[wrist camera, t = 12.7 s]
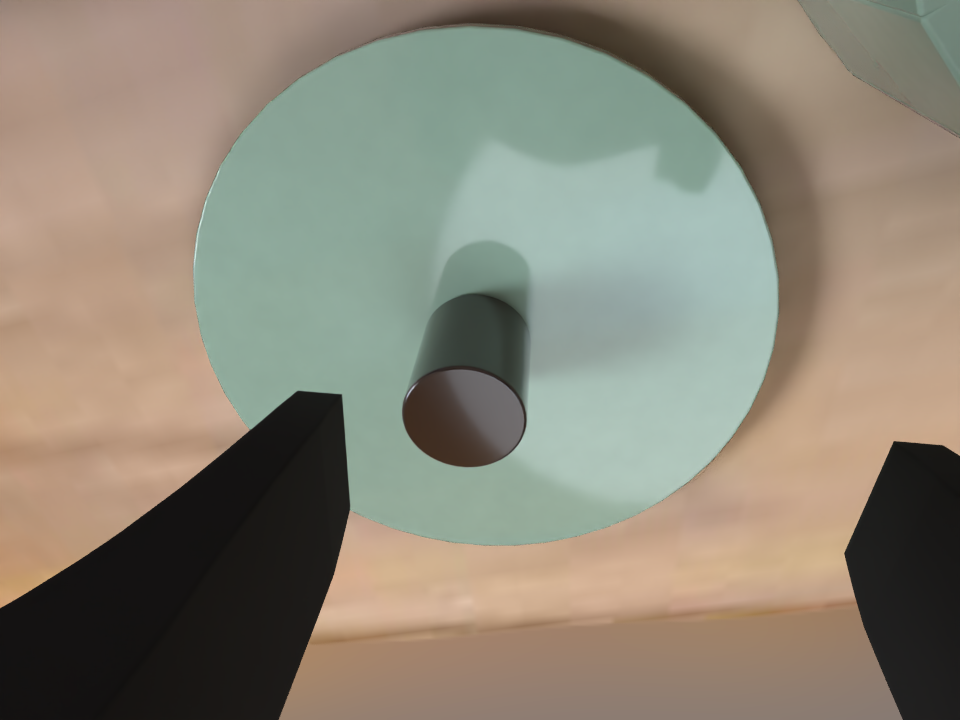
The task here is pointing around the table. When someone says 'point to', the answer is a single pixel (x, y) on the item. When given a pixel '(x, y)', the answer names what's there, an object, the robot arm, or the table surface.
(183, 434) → the table surface
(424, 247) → the lid
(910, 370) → the table surface
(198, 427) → the table surface
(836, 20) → the crock
